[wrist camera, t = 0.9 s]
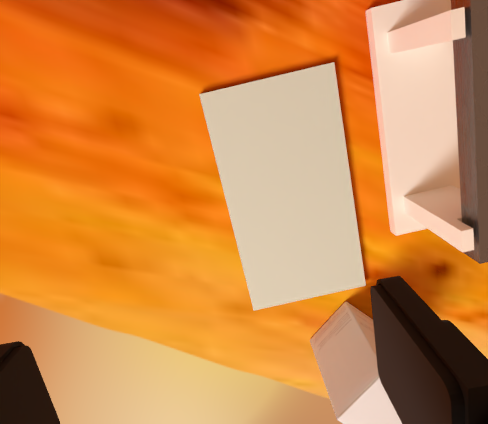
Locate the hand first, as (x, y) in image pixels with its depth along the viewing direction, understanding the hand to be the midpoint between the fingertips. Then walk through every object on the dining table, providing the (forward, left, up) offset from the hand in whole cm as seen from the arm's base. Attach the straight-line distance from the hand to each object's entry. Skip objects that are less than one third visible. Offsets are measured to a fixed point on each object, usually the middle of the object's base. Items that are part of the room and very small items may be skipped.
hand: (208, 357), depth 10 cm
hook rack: (+1, +21, -33) cm, 39 cm away
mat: (+6, +6, -33) cm, 34 cm away
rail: (+1, +21, -23) cm, 31 cm away
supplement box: (+26, +10, -33) cm, 44 cm away
